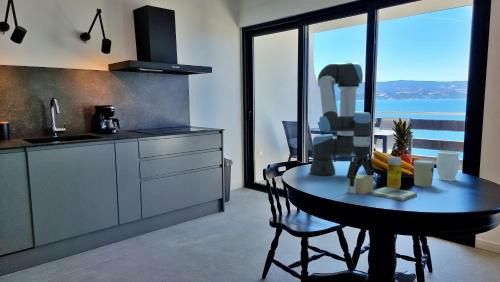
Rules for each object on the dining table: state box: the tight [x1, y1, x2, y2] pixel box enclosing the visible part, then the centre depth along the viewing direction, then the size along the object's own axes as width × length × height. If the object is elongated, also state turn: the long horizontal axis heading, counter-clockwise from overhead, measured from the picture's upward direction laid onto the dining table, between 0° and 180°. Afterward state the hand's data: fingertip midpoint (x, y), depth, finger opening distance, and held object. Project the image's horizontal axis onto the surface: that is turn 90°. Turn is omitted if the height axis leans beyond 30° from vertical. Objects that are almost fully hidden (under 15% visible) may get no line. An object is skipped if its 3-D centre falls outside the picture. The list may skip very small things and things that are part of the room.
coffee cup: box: [413, 159, 435, 188], centre depth 167 cm, size 9×9×12 cm
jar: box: [435, 150, 460, 182], centre depth 178 cm, size 11×10×15 cm
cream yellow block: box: [347, 174, 374, 195], centre depth 156 cm, size 8×8×7 cm
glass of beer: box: [386, 156, 402, 190], centre depth 162 cm, size 6×6×15 cm
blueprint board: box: [369, 186, 418, 202], centre depth 149 cm, size 15×13×1 cm
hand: (360, 190), depth 157 cm, fingers open, 12 cm apart
